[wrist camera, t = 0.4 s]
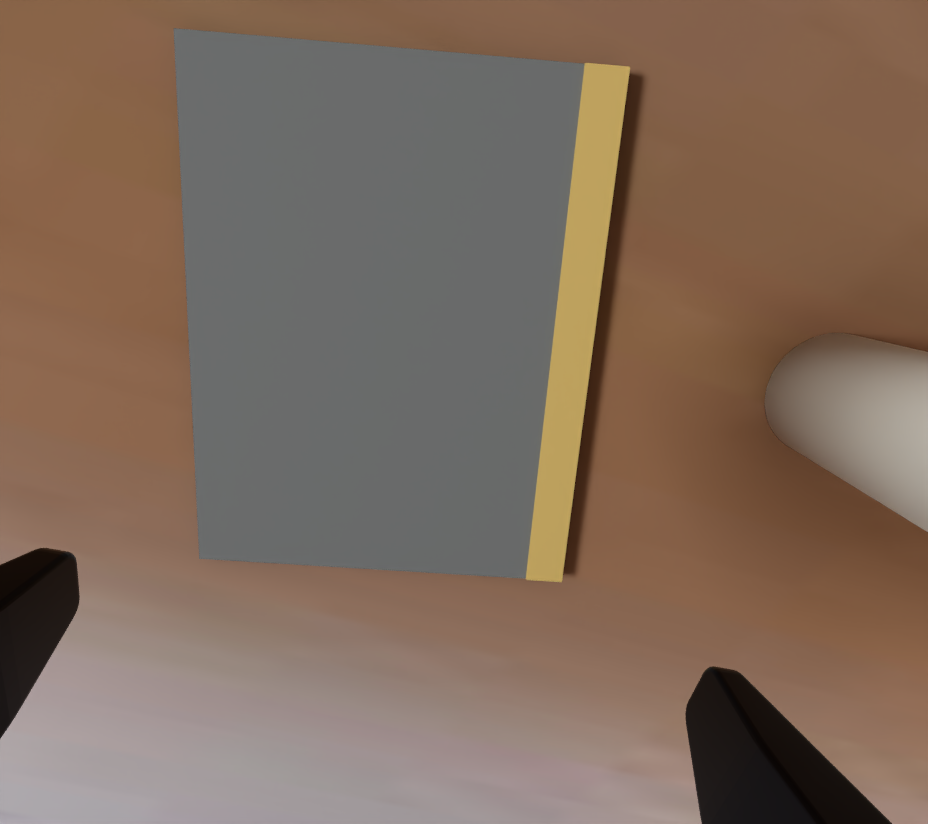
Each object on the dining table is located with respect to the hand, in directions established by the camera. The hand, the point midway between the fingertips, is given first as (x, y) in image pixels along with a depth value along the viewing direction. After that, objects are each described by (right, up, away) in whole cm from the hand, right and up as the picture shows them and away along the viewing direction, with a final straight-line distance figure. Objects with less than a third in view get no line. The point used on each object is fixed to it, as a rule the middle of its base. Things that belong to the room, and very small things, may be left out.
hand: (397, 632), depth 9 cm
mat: (-2, +6, +13) cm, 14 cm away
